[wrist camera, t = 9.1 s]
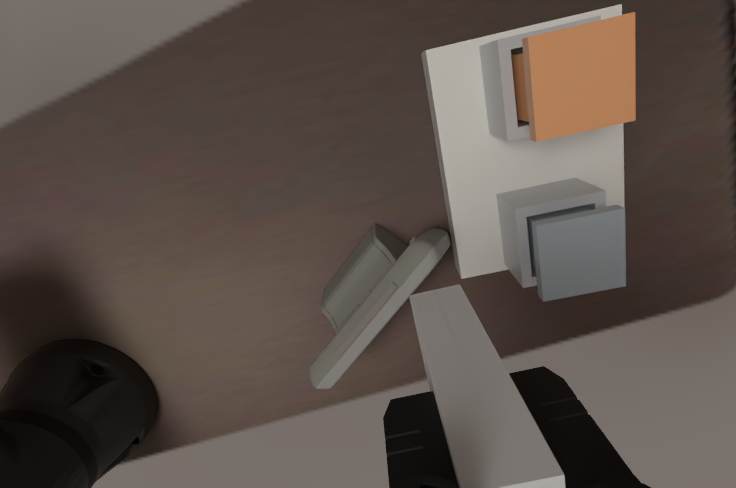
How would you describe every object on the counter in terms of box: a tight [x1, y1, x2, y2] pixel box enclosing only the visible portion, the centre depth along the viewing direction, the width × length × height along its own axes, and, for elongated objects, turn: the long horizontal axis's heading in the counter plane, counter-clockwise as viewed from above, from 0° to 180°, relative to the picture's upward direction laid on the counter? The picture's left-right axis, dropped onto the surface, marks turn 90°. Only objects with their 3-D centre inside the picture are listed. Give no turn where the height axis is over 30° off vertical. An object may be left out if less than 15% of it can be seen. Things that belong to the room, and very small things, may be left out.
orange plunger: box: [511, 12, 636, 142], centre depth 29 cm, size 6×6×8 cm
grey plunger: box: [526, 205, 626, 302], centre depth 34 cm, size 6×6×8 cm
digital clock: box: [309, 224, 451, 389], centre depth 38 cm, size 16×9×11 cm, turn 132°
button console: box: [421, 4, 624, 288], centre depth 35 cm, size 15×20×8 cm
